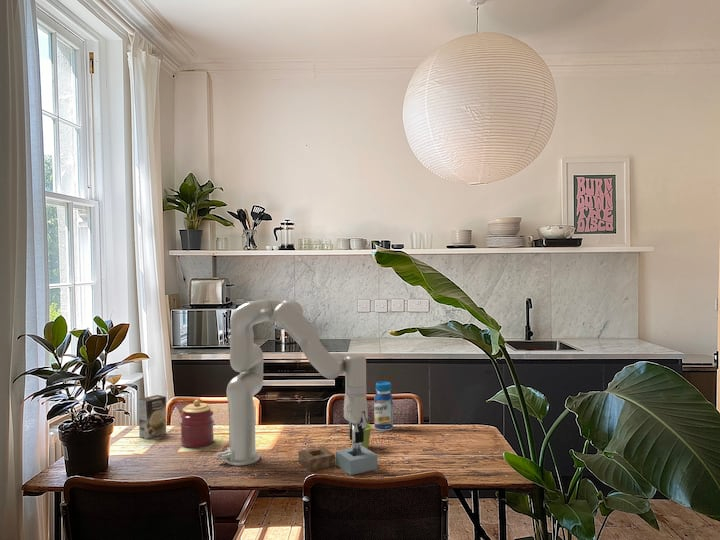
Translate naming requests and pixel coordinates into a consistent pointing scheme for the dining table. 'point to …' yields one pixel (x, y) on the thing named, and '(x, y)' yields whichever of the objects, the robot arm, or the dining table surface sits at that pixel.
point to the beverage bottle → (383, 407)
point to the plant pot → (366, 436)
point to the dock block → (356, 461)
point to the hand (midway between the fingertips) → (356, 440)
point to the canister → (197, 425)
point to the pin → (355, 446)
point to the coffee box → (152, 416)
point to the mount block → (316, 458)
